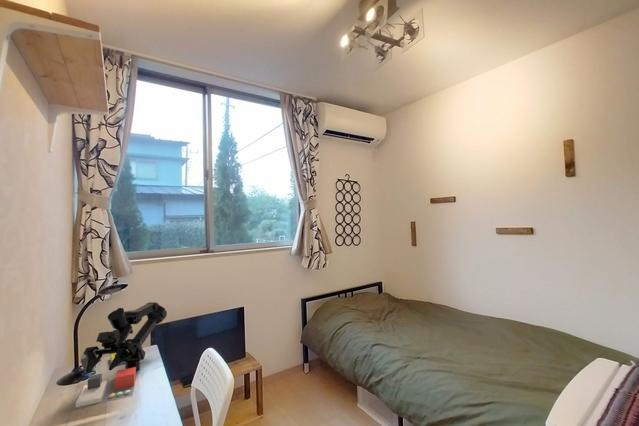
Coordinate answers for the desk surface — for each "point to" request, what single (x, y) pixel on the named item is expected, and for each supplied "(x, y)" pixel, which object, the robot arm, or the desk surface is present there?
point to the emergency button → (114, 357)
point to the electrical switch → (85, 361)
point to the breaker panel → (109, 391)
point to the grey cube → (94, 381)
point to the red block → (125, 378)
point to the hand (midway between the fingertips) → (98, 371)
